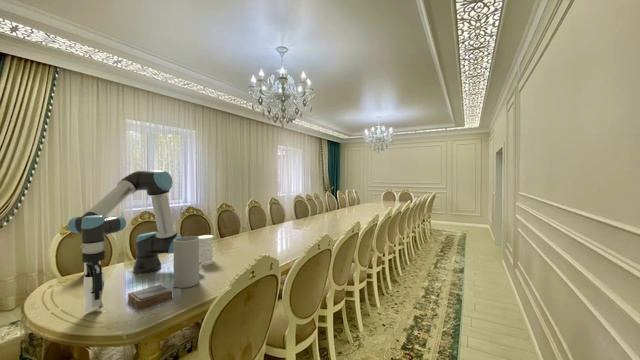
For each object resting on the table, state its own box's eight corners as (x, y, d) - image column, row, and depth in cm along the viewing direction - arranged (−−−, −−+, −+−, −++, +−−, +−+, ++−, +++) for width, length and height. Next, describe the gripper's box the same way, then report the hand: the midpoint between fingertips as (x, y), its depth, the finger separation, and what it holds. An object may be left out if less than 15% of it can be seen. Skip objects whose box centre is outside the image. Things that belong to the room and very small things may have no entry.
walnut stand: (128, 301, 128) (128, 292, 128) (160, 291, 139) (160, 283, 139) (139, 309, 119) (139, 300, 119) (172, 298, 130) (172, 290, 130)
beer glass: (91, 305, 121) (91, 271, 120) (108, 304, 121) (107, 271, 121) (79, 313, 114) (78, 277, 114) (97, 312, 114) (96, 277, 114)
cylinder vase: (181, 279, 155) (181, 236, 155) (203, 279, 155) (202, 236, 155) (168, 288, 143) (168, 241, 142) (192, 288, 142) (191, 241, 142)
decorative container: (199, 260, 191) (199, 235, 191) (216, 259, 193) (216, 234, 193) (193, 265, 180) (193, 238, 180) (211, 265, 181) (211, 238, 181)
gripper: (77, 249, 120) (77, 301, 120) (87, 257, 108) (88, 314, 109) (98, 246, 126) (99, 295, 126) (110, 253, 114) (111, 307, 114)
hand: (94, 304), depth 117 cm, fingers closed on beer glass, 6 cm apart
